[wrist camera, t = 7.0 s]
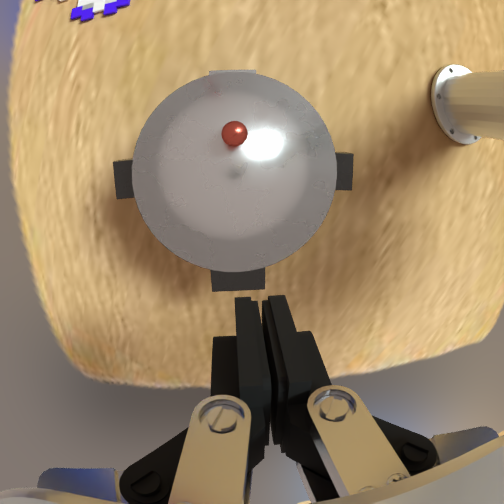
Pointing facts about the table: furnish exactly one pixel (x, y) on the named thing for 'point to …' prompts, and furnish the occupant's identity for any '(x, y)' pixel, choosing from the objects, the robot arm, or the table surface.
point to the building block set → (96, 8)
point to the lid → (234, 175)
